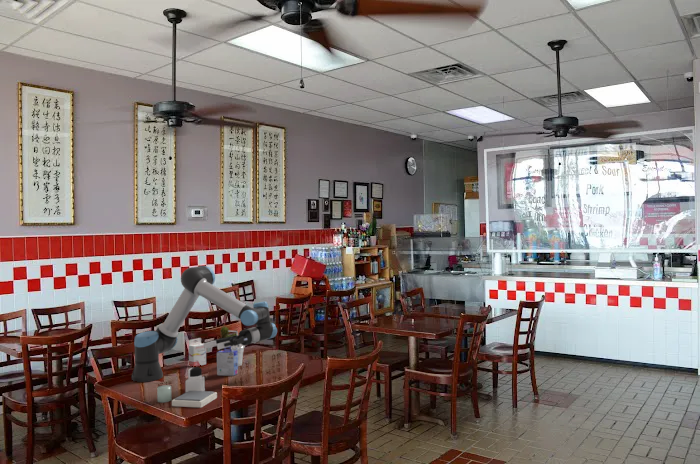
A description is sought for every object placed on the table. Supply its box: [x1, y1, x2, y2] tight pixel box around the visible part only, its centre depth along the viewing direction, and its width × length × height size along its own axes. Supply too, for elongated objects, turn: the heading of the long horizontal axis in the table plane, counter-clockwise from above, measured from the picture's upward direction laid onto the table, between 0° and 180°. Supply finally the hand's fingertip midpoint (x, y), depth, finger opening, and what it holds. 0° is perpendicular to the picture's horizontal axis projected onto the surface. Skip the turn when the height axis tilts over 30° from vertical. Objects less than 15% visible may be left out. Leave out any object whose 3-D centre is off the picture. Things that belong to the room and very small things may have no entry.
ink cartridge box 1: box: [188, 337, 207, 368], centre depth 309 cm, size 9×5×15 cm, turn 141°
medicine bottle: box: [184, 366, 206, 393], centre depth 252 cm, size 7×7×12 cm
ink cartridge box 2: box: [216, 346, 239, 377], centre depth 286 cm, size 10×6×14 cm, turn 78°
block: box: [156, 384, 173, 403], centre depth 244 cm, size 6×6×6 cm
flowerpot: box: [218, 324, 237, 351], centre depth 326 cm, size 14×15×20 cm
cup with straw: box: [228, 329, 246, 367], centre depth 307 cm, size 8×9×20 cm
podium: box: [171, 390, 218, 409], centre depth 240 cm, size 14×14×3 cm
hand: (210, 346), depth 261 cm, fingers open, 13 cm apart
